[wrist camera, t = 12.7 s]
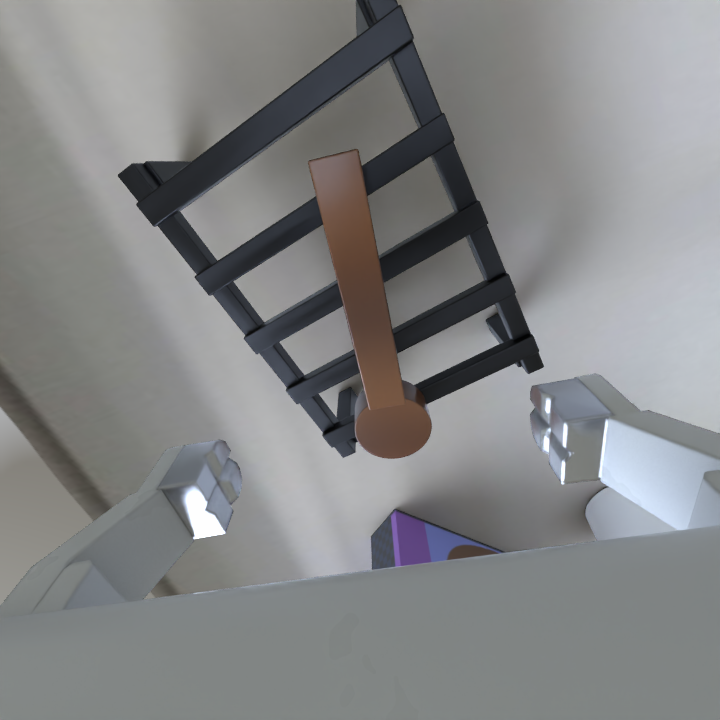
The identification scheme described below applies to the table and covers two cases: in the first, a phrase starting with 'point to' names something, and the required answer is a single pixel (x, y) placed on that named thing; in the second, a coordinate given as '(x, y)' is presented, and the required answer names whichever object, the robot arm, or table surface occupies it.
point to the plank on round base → (367, 312)
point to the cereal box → (420, 543)
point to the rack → (290, 109)
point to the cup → (620, 517)
